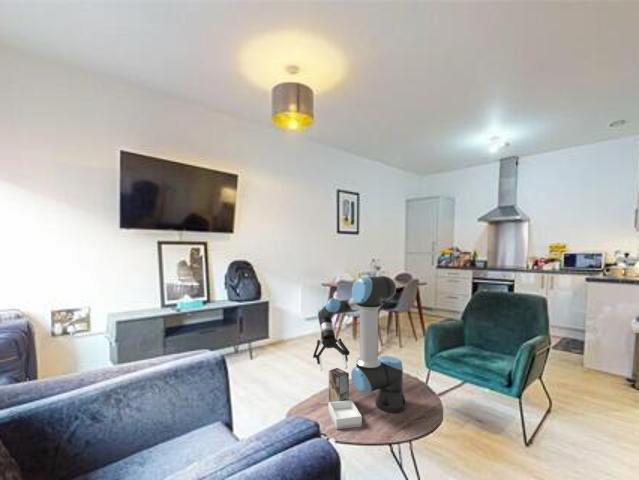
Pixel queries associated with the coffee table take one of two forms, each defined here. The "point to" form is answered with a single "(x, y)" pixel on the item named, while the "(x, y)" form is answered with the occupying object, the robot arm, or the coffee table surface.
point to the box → (345, 414)
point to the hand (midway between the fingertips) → (334, 368)
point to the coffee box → (338, 385)
